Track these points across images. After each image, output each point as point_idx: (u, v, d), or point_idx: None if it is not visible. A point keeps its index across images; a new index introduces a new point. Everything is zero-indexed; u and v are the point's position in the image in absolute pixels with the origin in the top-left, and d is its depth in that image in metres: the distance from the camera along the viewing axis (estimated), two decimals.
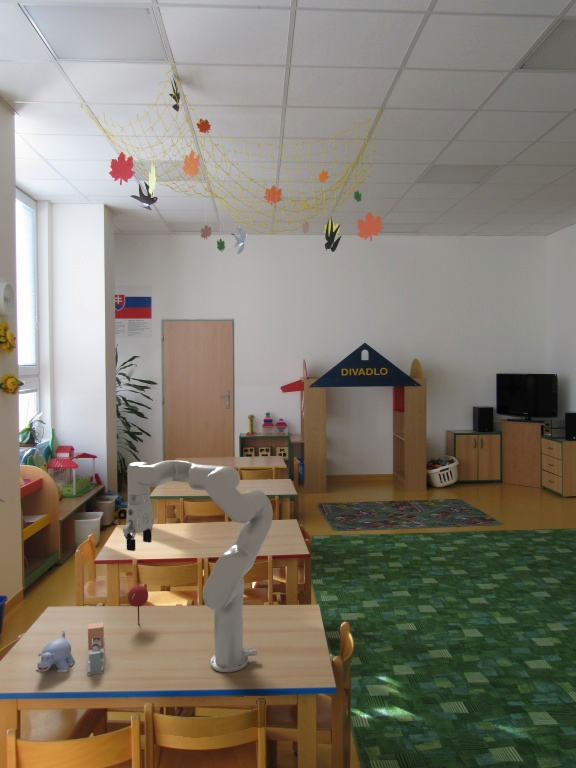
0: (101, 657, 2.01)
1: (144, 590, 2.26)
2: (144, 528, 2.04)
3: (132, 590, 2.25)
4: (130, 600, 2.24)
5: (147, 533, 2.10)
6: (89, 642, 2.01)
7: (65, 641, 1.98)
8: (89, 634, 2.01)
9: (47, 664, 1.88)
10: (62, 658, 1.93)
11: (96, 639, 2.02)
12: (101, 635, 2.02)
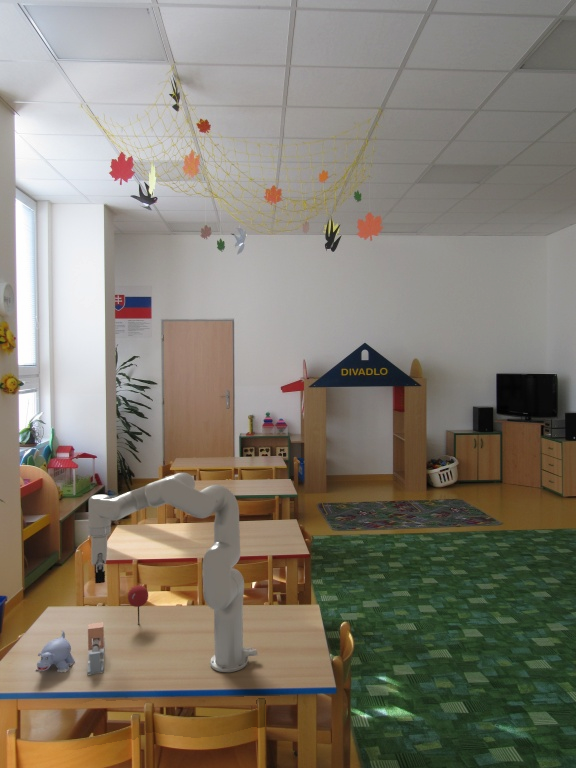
0: (101, 657, 2.01)
1: (144, 590, 2.26)
2: None
3: (132, 590, 2.25)
4: (130, 600, 2.24)
5: None
6: (89, 642, 2.01)
7: (65, 641, 1.98)
8: (89, 634, 2.01)
9: (47, 664, 1.88)
10: (61, 658, 1.93)
11: (96, 639, 2.02)
12: (101, 635, 2.02)
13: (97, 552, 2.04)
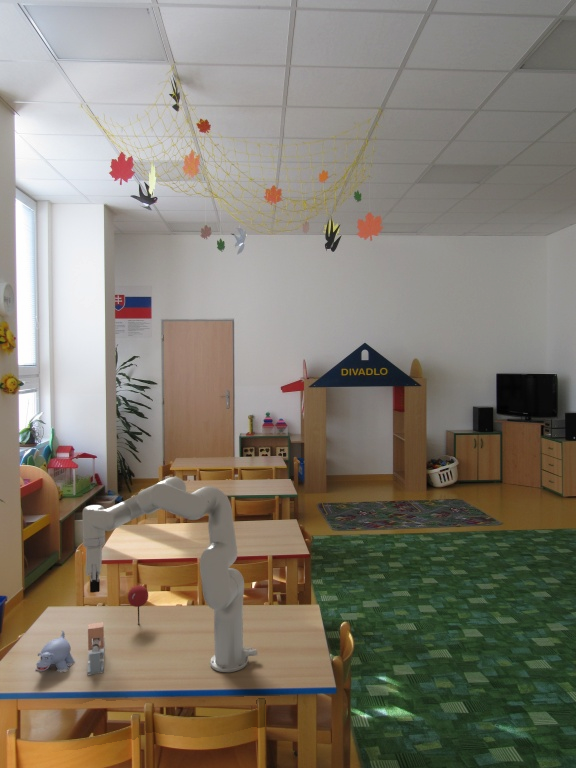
0: (101, 657, 2.01)
1: (144, 590, 2.26)
2: None
3: (132, 590, 2.25)
4: (130, 600, 2.24)
5: None
6: (89, 642, 2.01)
7: (64, 641, 1.98)
8: (89, 634, 2.01)
9: (46, 664, 1.89)
10: (61, 658, 1.94)
11: (96, 639, 2.02)
12: (101, 635, 2.02)
13: (91, 563, 2.04)
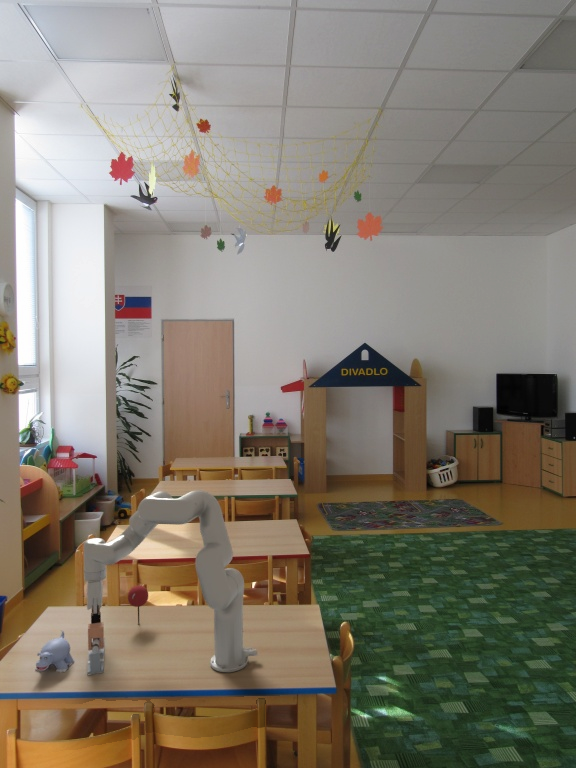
0: (101, 657, 2.01)
1: (144, 590, 2.26)
2: None
3: (132, 590, 2.25)
4: (130, 600, 2.24)
5: None
6: (89, 642, 2.01)
7: (64, 641, 1.98)
8: (89, 634, 2.01)
9: (45, 664, 1.89)
10: (60, 658, 1.94)
11: (96, 639, 2.02)
12: (101, 635, 2.02)
13: (92, 597, 2.05)
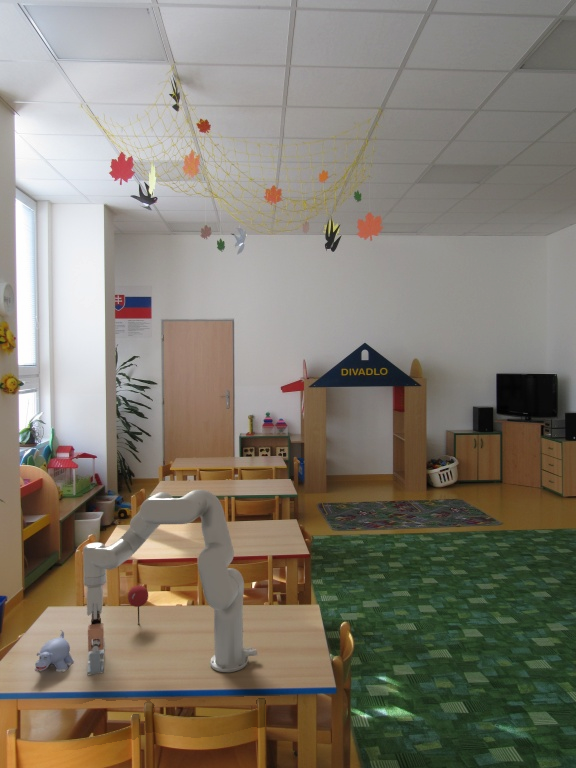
0: (101, 657, 2.01)
1: (144, 590, 2.26)
2: None
3: (132, 590, 2.25)
4: (130, 600, 2.24)
5: None
6: (89, 643, 2.01)
7: (63, 641, 1.98)
8: (89, 635, 2.01)
9: (45, 664, 1.89)
10: (60, 658, 1.94)
11: (96, 639, 2.02)
12: (101, 636, 2.02)
13: (92, 602, 2.02)
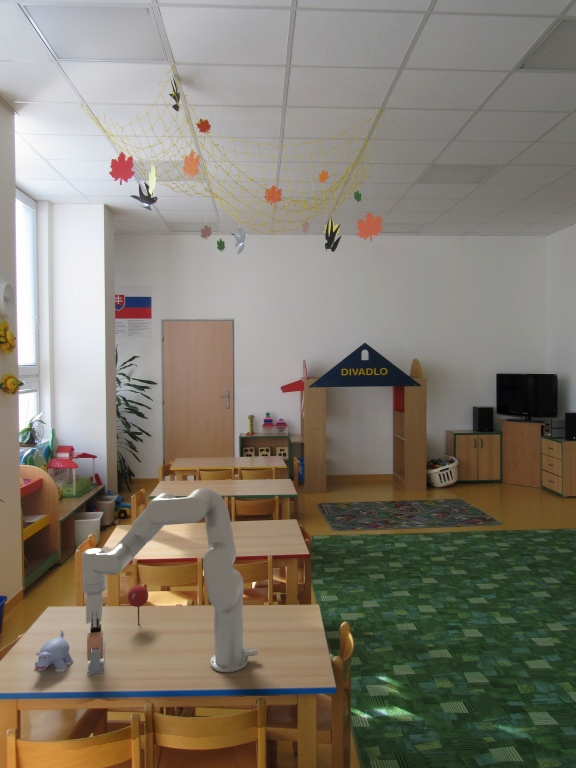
0: None
1: (144, 590, 2.26)
2: None
3: (132, 590, 2.25)
4: (130, 600, 2.24)
5: None
6: (88, 652, 1.94)
7: (63, 640, 1.98)
8: (88, 644, 1.94)
9: (44, 663, 1.89)
10: (59, 658, 1.94)
11: None
12: (101, 645, 1.95)
13: (91, 610, 1.95)
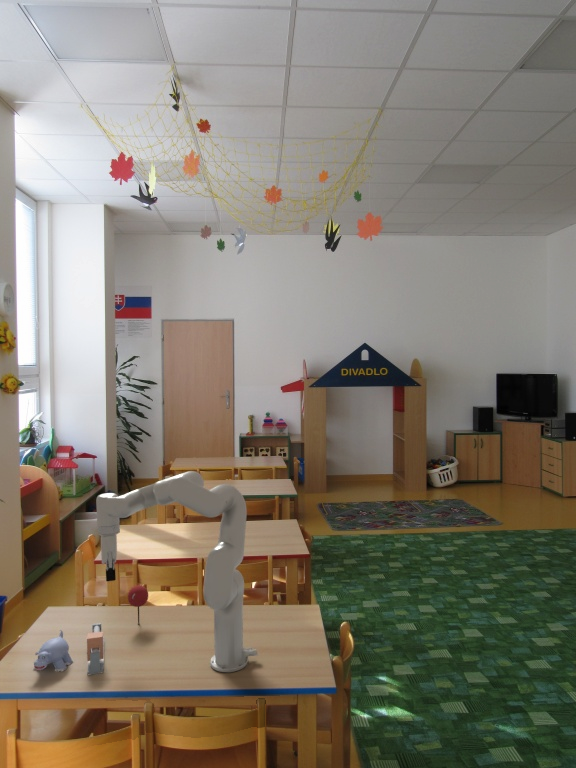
0: None
1: (144, 590, 2.26)
2: None
3: (132, 590, 2.25)
4: (130, 600, 2.24)
5: None
6: (88, 652, 1.94)
7: (62, 640, 1.98)
8: (88, 644, 1.94)
9: (43, 663, 1.89)
10: (58, 657, 1.94)
11: None
12: (101, 645, 1.95)
13: (107, 551, 2.03)
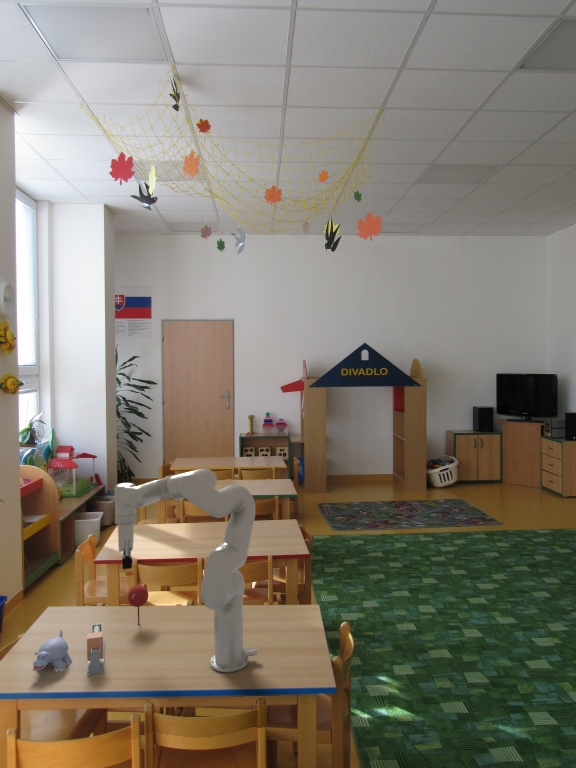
0: None
1: (144, 590, 2.26)
2: None
3: (132, 590, 2.25)
4: (130, 600, 2.24)
5: None
6: (88, 652, 1.94)
7: (62, 640, 1.99)
8: (88, 644, 1.94)
9: (42, 663, 1.89)
10: (58, 657, 1.94)
11: None
12: (101, 645, 1.95)
13: (124, 539, 2.07)
